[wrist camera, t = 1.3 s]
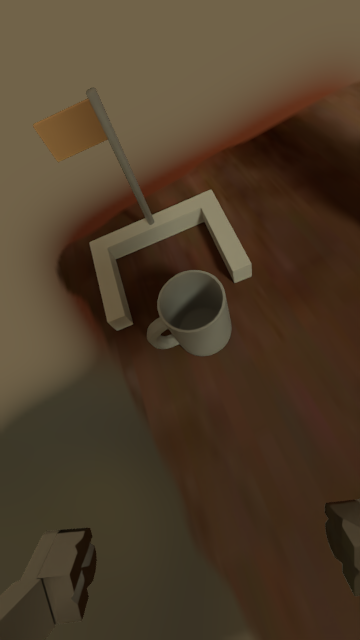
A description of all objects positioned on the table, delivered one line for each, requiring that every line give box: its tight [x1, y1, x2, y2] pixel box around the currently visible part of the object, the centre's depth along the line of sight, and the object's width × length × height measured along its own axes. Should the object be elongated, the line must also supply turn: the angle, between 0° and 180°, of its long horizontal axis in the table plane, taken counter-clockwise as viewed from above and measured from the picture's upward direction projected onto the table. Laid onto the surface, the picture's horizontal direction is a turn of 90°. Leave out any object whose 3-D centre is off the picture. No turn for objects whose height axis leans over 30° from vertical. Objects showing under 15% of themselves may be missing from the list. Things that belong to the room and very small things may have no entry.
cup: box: [147, 270, 231, 356], centre depth 34 cm, size 7×10×9 cm
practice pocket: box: [33, 88, 252, 331], centre depth 34 cm, size 14×20×21 cm
